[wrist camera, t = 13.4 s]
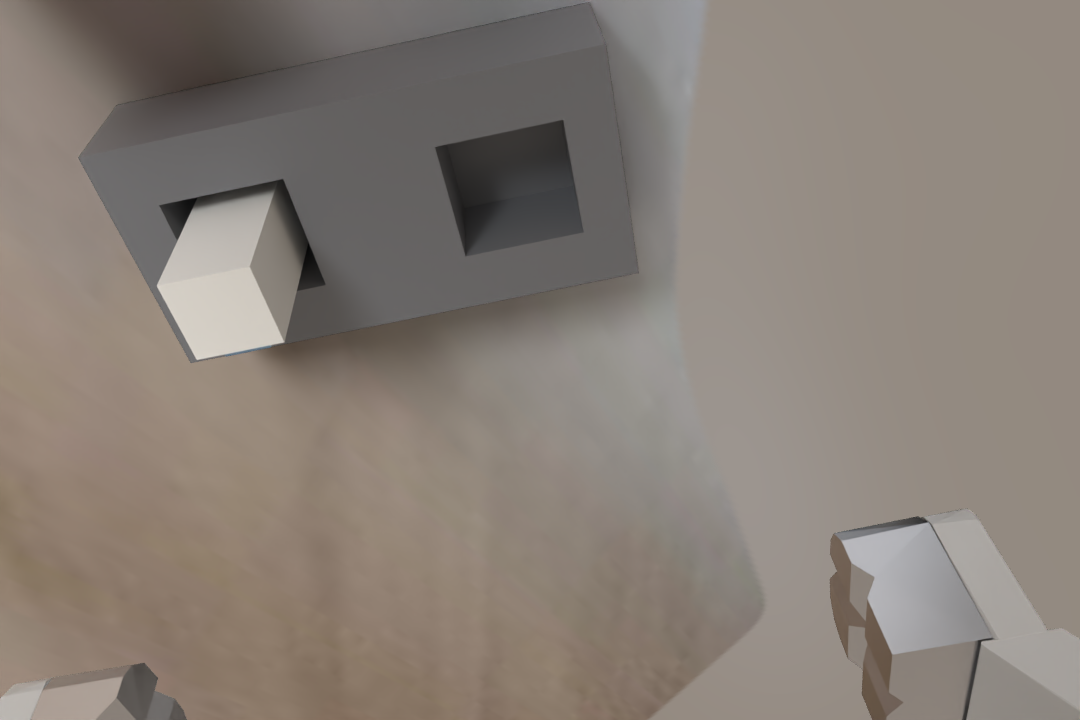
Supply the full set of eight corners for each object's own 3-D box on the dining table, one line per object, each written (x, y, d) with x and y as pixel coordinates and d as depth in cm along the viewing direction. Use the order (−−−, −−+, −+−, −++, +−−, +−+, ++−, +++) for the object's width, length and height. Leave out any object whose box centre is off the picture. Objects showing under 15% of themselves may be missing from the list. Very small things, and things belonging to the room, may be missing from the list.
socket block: (116, 105, 38) (77, 157, 34) (589, 2, 37) (605, 43, 33) (213, 299, 44) (190, 362, 40) (621, 216, 43) (638, 272, 39)
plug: (209, 171, 39) (156, 286, 32) (286, 154, 39) (249, 266, 32) (244, 247, 42) (202, 370, 34) (316, 232, 41) (289, 352, 34)
